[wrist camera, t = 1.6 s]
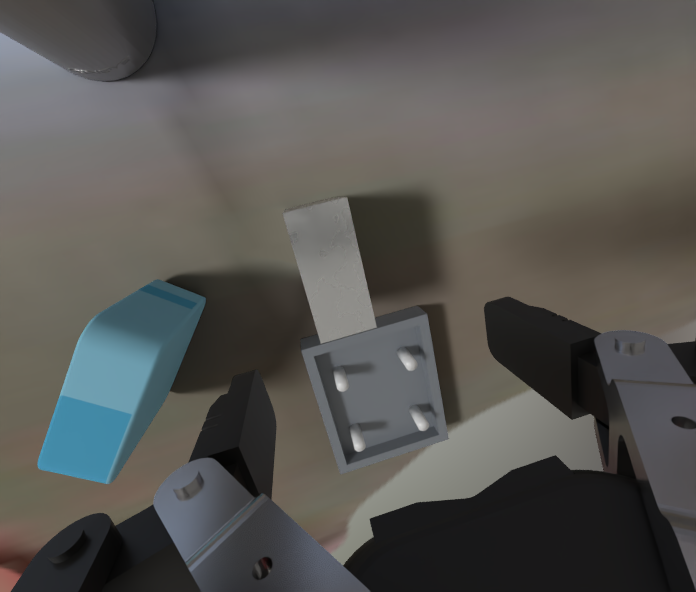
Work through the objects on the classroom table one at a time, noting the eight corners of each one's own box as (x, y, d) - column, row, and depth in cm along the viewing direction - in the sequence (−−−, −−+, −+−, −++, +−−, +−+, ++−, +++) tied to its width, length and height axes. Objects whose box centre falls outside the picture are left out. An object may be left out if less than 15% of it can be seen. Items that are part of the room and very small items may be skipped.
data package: (161, 274, 30) (82, 320, 19) (210, 293, 31) (163, 347, 20) (121, 382, 32) (29, 480, 21) (168, 396, 34) (104, 496, 22)
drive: (285, 209, 30) (282, 213, 22) (331, 197, 31) (346, 196, 22) (313, 307, 34) (320, 343, 25) (355, 295, 34) (376, 327, 25)
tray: (300, 339, 34) (301, 357, 30) (417, 305, 35) (433, 318, 31) (337, 456, 39) (342, 485, 35) (438, 423, 40) (454, 448, 36)
